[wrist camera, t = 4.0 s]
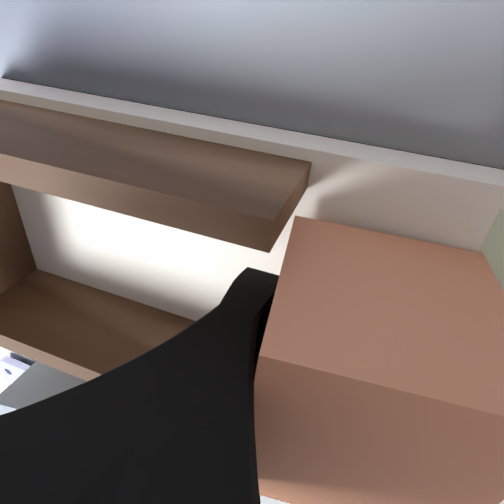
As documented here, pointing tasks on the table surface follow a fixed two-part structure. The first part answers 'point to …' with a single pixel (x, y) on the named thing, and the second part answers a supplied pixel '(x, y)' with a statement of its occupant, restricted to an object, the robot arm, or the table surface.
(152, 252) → the deck
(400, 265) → the terracotta cube
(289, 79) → the table surface
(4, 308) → the walnut cubby
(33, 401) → the white block
